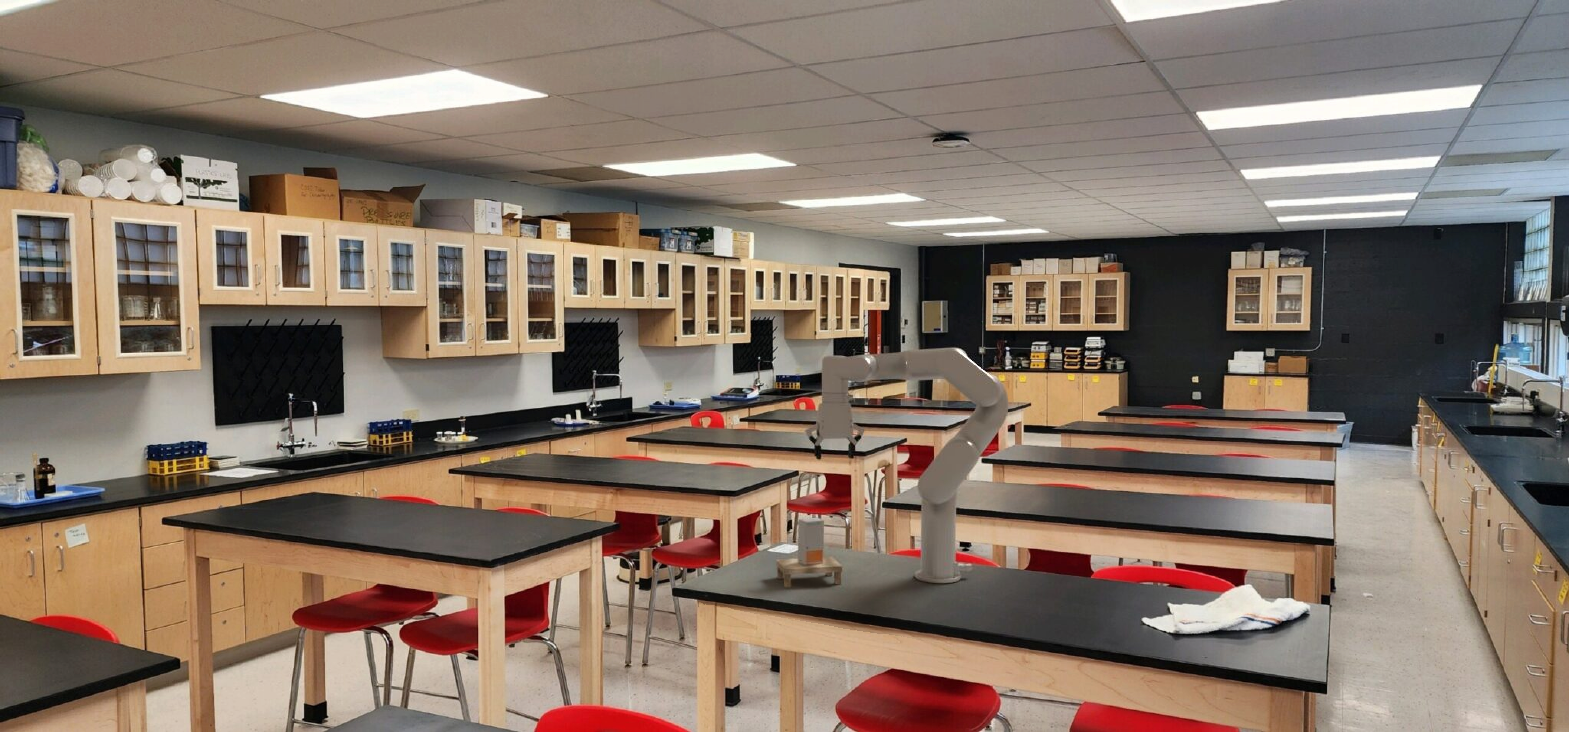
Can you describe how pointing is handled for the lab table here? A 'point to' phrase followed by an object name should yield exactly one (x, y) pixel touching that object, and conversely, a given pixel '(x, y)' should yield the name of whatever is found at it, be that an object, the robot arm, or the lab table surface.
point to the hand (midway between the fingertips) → (834, 458)
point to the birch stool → (807, 569)
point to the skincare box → (810, 541)
